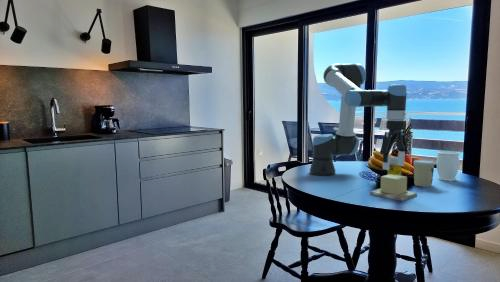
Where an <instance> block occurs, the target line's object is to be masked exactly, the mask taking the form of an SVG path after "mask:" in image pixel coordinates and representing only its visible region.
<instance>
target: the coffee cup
mask: <svg viewBox="0 0 500 282" xmlns="http://www.w3.org/2000/svg"><path fill="white" fill-rule="evenodd" d="M434 169H435V161H432V160H425V159H424V160H423V159H422V160H421V159H417V160H414V161H413V179H414V180H413V182H414V185H415V186H417V187H423V188H427V187H429V188H430V187H432V186H433V180H434V179H433V178H434V171H435V170H434Z"/></svg>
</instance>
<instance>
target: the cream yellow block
mask: <svg viewBox="0 0 500 282" xmlns="http://www.w3.org/2000/svg"><path fill="white" fill-rule="evenodd" d="M380 188H381V190H380V192H384V193H389V194H394V195H400V194H403V193H406V192H407V191H408V190H407V188H408V176H404V175H401V176H399V175H392V174H389V175H387V174H386V175H382V176H380Z"/></svg>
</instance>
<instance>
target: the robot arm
mask: <svg viewBox="0 0 500 282" xmlns="http://www.w3.org/2000/svg"><path fill="white" fill-rule="evenodd" d="M366 73H367V72H366V69H365V67H364V66H363V65H362V64H361V63H333V64H329V66H327V67H326V69H325V70H324V72H323V76H322V77H323V81H324V83H325V84H327V85H328V86H329V87H332V88H334V89H335V90H336V91H337V92H338V93H339V94H341V96H340V109H339V119H338V121H339V122H338V130H337V131H336V132H335V135H333V134H332V133H324V134H318V135H315V136H314V137H313V138H312V162H311V165H310V168H309V174H310V175H314V174H315V176H334V175H336V168H335V164H334V161H333V160H334V159H333V157H334V156H352V155H355V154H356V153H357V152H358V150H359V146H360V141H359V140H360V139H359V137H358V136H356V135H357V133H356V132H355V131H354V129H355V117H356V108H357V107H358V108H359V107H360V108H361V107H363V108H365V107H386V127H385V128H386V129H387V130H388V131H384V136H383V141H382V144H381V148H380V150H379V153H380V155H382V170H386V171H388V170H389V165H390V157H391V156H390V155H391V154H390V152H391V151H392V149H393V146H394V143H396V145H397V147H398V153H397V157H398V165H400V166H401V167H405V159H406V158H405V156H406V152H408V149H409V148H408V147H409V146H408V143H407V137H406V130H405V128H406V127H405V126H406V121H405V120H406V116H407V113H406V110H407V109H406V108H407V94H408V93H407V86H406V85H405V84H389V85H388V86H387V89H381V90H380V89H372V90H371V89H368V90H367V89H361V87H362V85H364V84H365V82H366V79H367V78H366V77H367V74H366Z"/></svg>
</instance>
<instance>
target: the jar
mask: <svg viewBox="0 0 500 282" xmlns="http://www.w3.org/2000/svg"><path fill="white" fill-rule="evenodd" d="M436 154H437V156H436V163H435V164H436V171H437V175H438V177H437V179H438V180H440V181H445V182H454V181H457V178H456V177H457V175H458V171H459V167H460V158H459V156H460V152H458V151H453V150H452V151H451V150H439V151H436Z"/></svg>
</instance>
